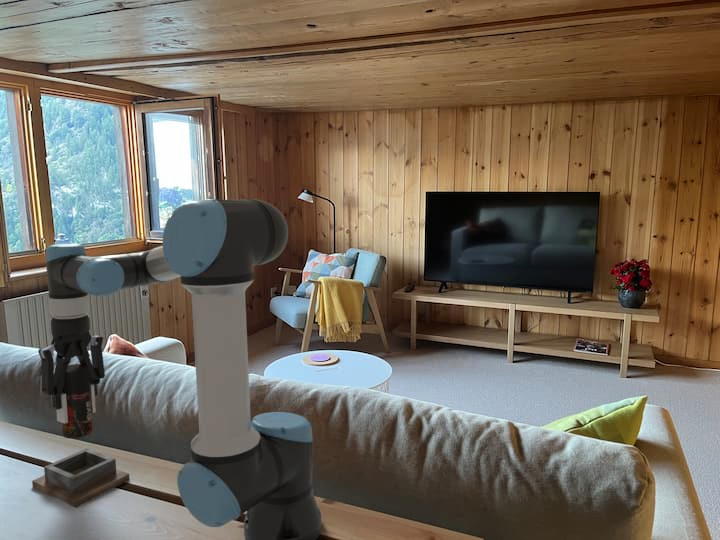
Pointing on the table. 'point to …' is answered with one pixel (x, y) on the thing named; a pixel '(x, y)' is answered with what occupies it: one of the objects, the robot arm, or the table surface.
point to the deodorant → (77, 402)
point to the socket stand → (80, 477)
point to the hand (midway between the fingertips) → (76, 416)
